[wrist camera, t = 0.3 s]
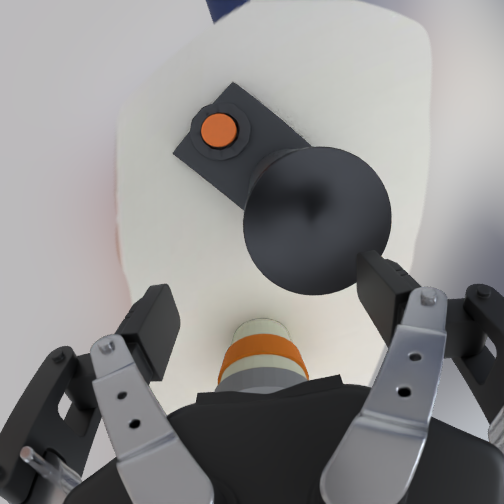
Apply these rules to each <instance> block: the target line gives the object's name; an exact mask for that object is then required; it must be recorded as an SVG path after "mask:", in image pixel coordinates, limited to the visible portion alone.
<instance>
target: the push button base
mask: <svg viewBox="0 0 504 504" xmlns="http://www.w3.org/2000/svg"><path fill="white" fill-rule="evenodd" d="M214 114H225V115H227V116H229V117H230V118H231V119H232V120H233V121H234V123H235V125H236V128H237V133H236V137H235V139H234V140H233V141H232V142H231V143H230V144H229V145H227V146H224V147H214V146H211V145H209V144H208V143H206V142H205V140H204V139H203V137H202V134H201V128H202V125H203V123H204V121H205V120H206V119H207V118H208V117H209V116H211V115H214ZM306 147H312V146H311V145H310V144H309V143H307V142H306V141H305V140H304V139H303V138H302V137H301V136H300V135H299V134H297V133H296V132H295V131H294V130H293V129H292V128H291V127H289V126H288V125H287V124H286V123H285V122H284V121H282V120H281V119H280V118H279V117H278V116H276V115H275V114H274V113H273V112H272V111H270V110H269V109H268V108H267V107H265V106H264V105H263V104H262V103H260V102H259V101H258V100H257V99H255V98H254V97H253V96H251V95H250V94H249V93H247V92H246V91H245V90H243V89H242V88H241V87H239V86H238V85H237V84H235V83H234V82H232V83H231V84H230V85H229V86H228V87H227V89H226V90H225V91H224V92H223V93H222V94H221V95H220V96H219V97H218V98H217V100H216V101H215V102H214V103H213V104H210V105H208V106H205V107H203V108H202V109H201V110H200V111H199V112H198V113H197V115H196V116H195V117H194V118H193V120H192V123H191V129H190V132H189V133H188V134H187V135H186V137H185V138H184V139H183V140H182V142H181V143H180V144H179V146H178V147H177V148H176V149H175V151H174V152H173V154H174V155H175V156H176V157H178V158H179V159H180V160H182V161H183V162H184V163H185V164H187V165H188V166H189V167H190V168H192V169H193V170H194V171H196V172H197V173H198V174H199V175H201V176H202V177H203V178H204V179H206V180H207V181H208V182H209V183H211V184H212V185H213V186H214V187H216V188H217V189H218V190H219V191H221V192H222V193H223V194H224V195H226V196H227V197H228V198H229V199H231V200H232V201H233V202H234V203H235V204H237V205H238V206H239V207H240V208H242V209H243V210H245V205H246V201H247V198H248V195H249V183H250V178H251V175H252V173H253V171H254V169H255V167H256V166H257V164H258V163H259V162H260V161H261V160H262V159H263V158H264V157H266V156H267V155H269V154H271V153H273V152H275V151H278V150H282V149H302V148H306Z"/></svg>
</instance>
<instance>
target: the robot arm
mask: <svg viewBox="0 0 504 504" xmlns="http://www.w3.org/2000/svg"><path fill="white" fill-rule="evenodd" d="M356 267H357V293H358V297H359V300H360V302H361V303H362V305H363V306H364V308H365V310H366V311H367V313H368V315H369V316H370V318H371V320H372V321H373V323H374V325H375V326H376V328H377V330H378V331H379V333H380V335H381V336H382V338H383V340H384V342H385V343H386V345H387V347H388V351H387V354H386V356H385V358H384V361H383V363H382V366H381V368H380V370H379V373H378V375H377V377H376V379H375V382H374V384H373V386H372V388H370V387H367V386H362V385H354V384H343V382H342V379H341V376H340V374H339V375H334V376H330V377H325V378H320V379H315V380H309V381H304V382H302V383H299V384H296V385H294V386H291V387H288V388H285V389H282V390H279V391H276V392H273V393H270V394H259V393H247V392H237V391H222V392H206V393H197V399H196V403H194V404H191V405H188V406H185V407H182V408H180V409H178V410H176V411H174V412H172V413H170V414H169V415H168V416H167V415H166V413H165V412H164V410H163V408H162V407H161V405H160V404H159V402H158V400H157V399H156V397H155V395H154V394H153V392H152V390H151V389H150V387H149V384H150V381H162V379H163V376H164V373H165V370H166V367H167V364H168V361H169V358H170V355H171V352H172V349H173V347H174V344H175V341H176V338H177V335H178V332H179V329H180V316H179V313H178V310H177V307H176V304H175V301H174V298H173V295H172V292H171V290H170V287H169V285H168V284H160V285H153V286H150V287H149V288H148V290H147V291H146V293H145V295H144V296H143V298H141V299H139V300H138V301H137V302H136V303H135V304H133V306H132V307H131V309H130V310H129V313H128V314H127V315H126V316H125V319H124V320H123V321H122V323H121V324H120V326H119V328H118V329H117V331H116V332H115V334H111V335H107V336H104V337H102V338H100V339H99V340H97V341H96V342H95V343H94V344H93V345H92V347H91V349H90V353H88V354H84V355H80V356H76V354H75V353H74V351H73V349H72V348H71V347H69V346H63V347H59V348H57V349H55V350H54V351H52V352H51V353H50V354H49V355H48V356H47V357H46V359H45V360H44V362H43V363H42V365H41V366H40V368H39V369H38V371H37V372H36V374H35V375H34V377H33V378H32V380H31V381H30V383H29V385H28V386H27V388H26V389H25V391H24V393H23V395H22V396H21V398H20V399H19V401H18V403H17V404H16V406H15V408H14V409H13V411H12V413H11V415H10V416H9V418H8V420H7V422H6V424H5V425H4V427H3V429H2V431H1V433H0V496H1V497H3V498H4V499H5V500H7V501H8V502H9V503H10V504H504V297H503V296H502V295H501V294H499V293H498V292H497V291H496V290H495V289H494V288H492V287H490V286H488V285H484V284H473V285H470V286H469V287H468V288H467V290H466V294H465V298H462V299H447V296H446V294H445V293H444V292H443V291H441V290H439V289H437V288H433V287H421V286H420V285H419V284H418V283H417V282H416V281H415V280H414V279H413V278H412V277H411V276H410V275H408V273H407V272H406V271H405V270H403V268H402V267H401V266H400V265H398V264H397V263H396V262H393V261H391V260H389V259H384V258H383V257H381V256H380V255H379V254H378V253H377V252H376V251H375V250H372V251H366V252H361V253H358V254H357V257H356ZM487 337H489V338H490V339H491V341H492V342H493V343H494V345H495V347H496V350H497V357H496V359H495V357H494V356H493V355H492V353H491V352H490V351H489V349H488V348H487V347H486V346H485V342H486V339H487ZM444 358H452V360H453V362H454V363H455V365H456V366H457V368H458V369H459V371H460V373H461V374H462V376H463V378H464V379H465V381H466V382H467V384H468V386H469V388H470V389H471V391H472V393H473V395H474V396H475V398H476V400H477V402H478V403H479V405H480V407H481V409H482V411H483V412H484V414H485V417H486V418H487V420H488V422H489V424H490V426H489V429H488V438H489V442H488V441H485V440H483V439H481V438H478V437H476V436H473V435H471V434H469V433H467V432H464V431H462V430H460V429H457V428H455V427H453V426H451V425H448V424H446V423H444V422H442V421H440V420H438V419H435V418H433V417H431V415H432V412H433V408H434V404H435V400H436V395H437V391H438V386H439V381H440V376H441V371H442V365H443V359H444ZM64 392H65V394H66V395H67V396H68V398H69V399H70V400H71V401H72V404H71V406H70V408H69V410H68V412H67V415H66V417H65V419H64V420H63V419H62V418H61V417H60V415H59V413H58V404H59V402H60V400H61V398H62V396H63V394H64ZM101 417H102V418H103V421H104V424H105V427H106V430H107V433H108V436H109V438H110V441H111V444H112V446H113V449H114V451H115V454H116V457H115V458H114V459H113V460H111V461H110V462H109V463H108V464H106V465H105V466H104V467H102V468H101V469H100V470H98V471H97V472H95V473H94V474H93V475H91V476H90V477H89V478H87V479H86V480H84V481H83V482H82V480H81V477H82V474H83V471H84V467H85V464H86V461H87V458H88V455H89V452H90V449H91V446H92V443H93V440H94V437H95V434H96V431H97V428H98V426H99V423H100V420H101Z"/></svg>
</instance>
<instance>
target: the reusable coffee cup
mask: <svg viewBox="0 0 504 504" xmlns="http://www.w3.org/2000/svg"><path fill="white" fill-rule="evenodd" d="M304 381H309V375H308V372H307V369H306V367H305V364H304V362H303V360H302V357H301V355H300V352H299V350H298V349H297V347H296V346H295V345H294V344H293V343H292V340H291V338H290V335H289V333H288V331H287V329H286V328H285V327H284V326H283V325H282V324H280V323H279V322H277V321H274V320H270V319H254V320H250V321H248V322H246V323H244V324H243V325H241V326H240V327H239V328H238V329H237V330H236V332H235V334H234V337H233V341H232V344H231V346H230V347H229V349H228V350H227V352H226V354H225V357H224V360H223V363H222V367H221V370H220V373H219V376H218V386H217V388H216V389H215V392H222V391H237V392H247V393H259V394H270V393H273V392H276V391H279V390H282V389H285V388H288V387H291V386H294V385H296V384H299V383H302V382H304Z"/></svg>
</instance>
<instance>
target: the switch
mask: <svg viewBox="0 0 504 504" xmlns="http://www.w3.org/2000/svg"><path fill="white" fill-rule="evenodd" d="M236 133H237V128H236V125H235V123H234V121H233V120H232V119H231V118H230V117H229V116H227V115H225V114H214V115H211V116H209V117H208V118H207V119H206V120H205V121H204V123H203V125H202V128H201V134H202V137H203V139H204V140H205V142H206V143H208V144H209V145H211V146H214V147H224V146H227V145H229V144H230V143H231V142H232V141H233V140H234V139H235V137H236Z"/></svg>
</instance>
